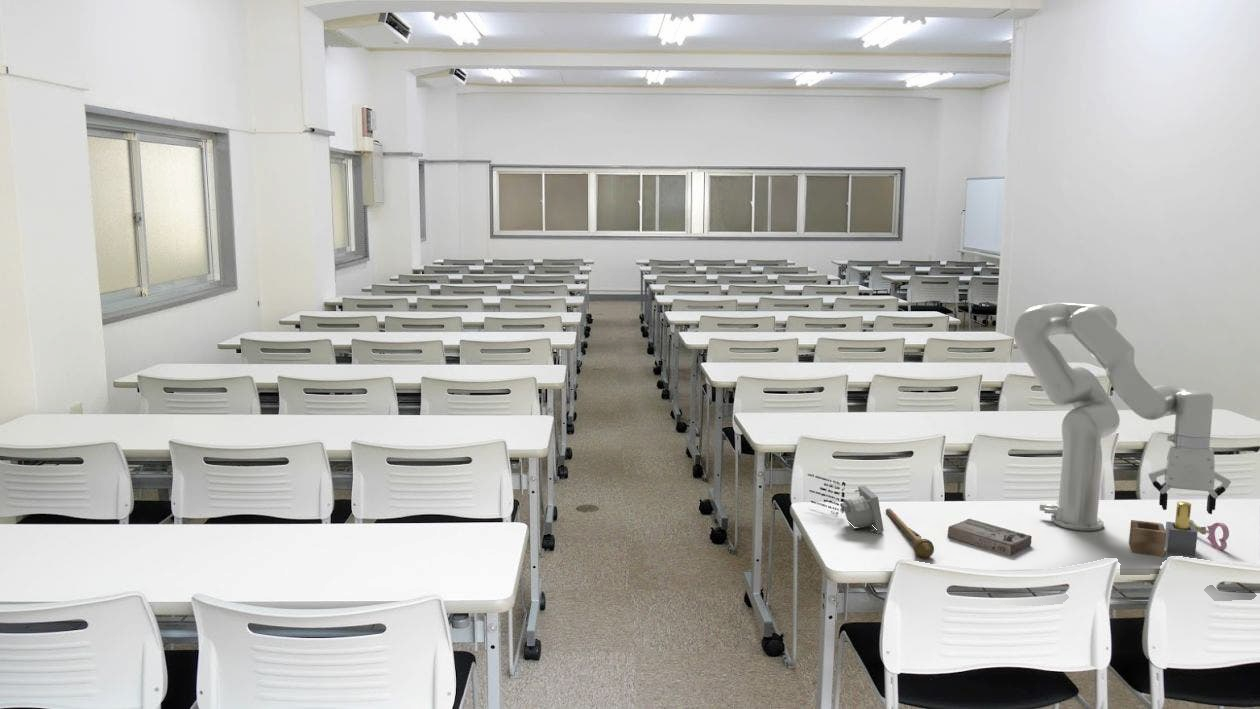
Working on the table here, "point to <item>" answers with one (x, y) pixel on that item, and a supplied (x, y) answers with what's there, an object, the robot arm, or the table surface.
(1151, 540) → the brown open box
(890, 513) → the brown rod with knob
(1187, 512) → the brass bar
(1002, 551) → the box
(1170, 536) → the socket block
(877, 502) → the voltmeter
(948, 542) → the table surface
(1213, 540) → the decorative key
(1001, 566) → the table surface
